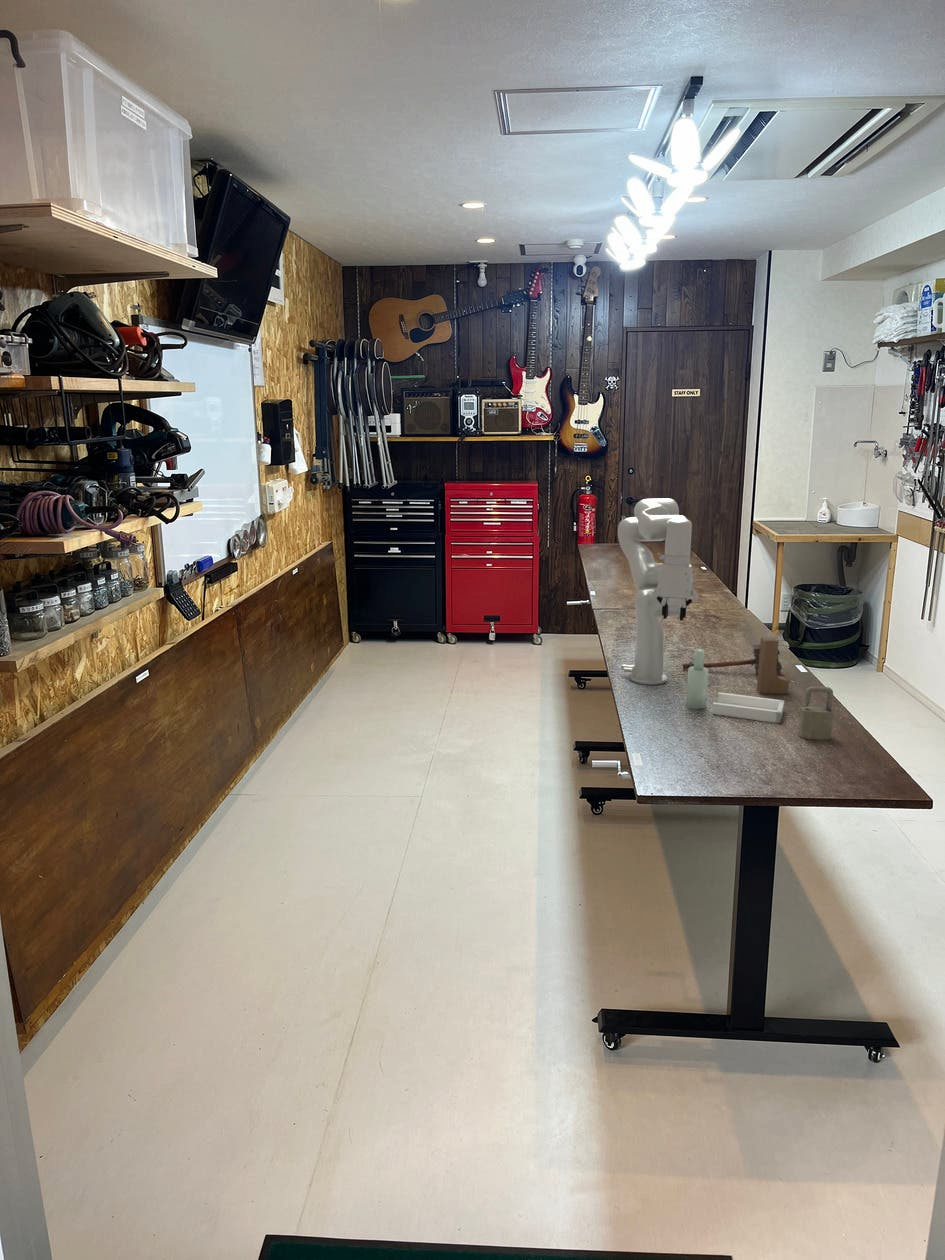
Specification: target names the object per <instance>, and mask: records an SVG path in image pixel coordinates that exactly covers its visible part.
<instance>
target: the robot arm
mask: <svg viewBox="0 0 945 1260" xmlns="http://www.w3.org/2000/svg"><path fill="white" fill-rule="evenodd" d="M679 508H680V507H679V506H678V503H677V501H676V500H674V499H672V498H644V499H641V500H639V501H637V502H636V504H635V506H634V508H633V513H634V516H632V517H626V518H624V519H622V520H621V521H620V522H619V523H618V526H617V537H618V542H619V546H620V548H621V550H622V552H623V554H624V555H625V557H626V559H627V562H628V563H629V568H630V572H631V573H630V574H631V576H632V581H633V585H634V586H635V588H636V589H637V590H638V591H637V592H636V593H635V596H634V608H635V618H636V620H635V647H634V664H631V665H629V664H621V670H622V671H623V672H625V673H629V677H628V678H629V680H630V681H631V682H632V683H636V684H640V685H646V686H647V685H649V686H650V685H651V686H652V685H654V686H655V685H656V686H657V685H662V684H664V683H666V682H667V681H668V677H667V675H666V674H664V659H665V657H664V656H665V637H666V630H665V627H664V625H663V623H662V622H661V621H660V620H659V618H661V617H662V619H663V620H666V619H668V617H679V620H680V621H682V622H683V620H684V618H686V616H687V612H688V610H689V605H690V604H692V603H694V602H695V601H697V600H698V599H699V598H700V596H699V595H698V593H697V591H696V590H695V589H694V579H693V578H694V574H693V566H692V564H691V563H690V560H691V546H692V533H693V532H692V531H693V529H692V528H693V524H692V523H693V522H692V521H691V520H689V519H688V518H687V517H686V516H685V515H682V514H681V515H680V509H679ZM662 541H665V543H664V554H661V555H659V560H660V561H663V562H659V563H658V562H655V558H654V554H653V552H652V551H651V550H650V549H649V548H648V547H647V546H646V545H645V544H643V543H641V542H662Z"/></svg>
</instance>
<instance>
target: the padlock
mask: <svg viewBox="0 0 945 1260" xmlns="http://www.w3.org/2000/svg"><path fill="white" fill-rule="evenodd" d="M812 692H815V693H816V692H817V693H818V692H819V693H827V697H826V705H825V707H820V706H809V704H810V702H811V696H812ZM804 695H805V696H804V703H805V707H801V711H800V720H799V729H798V730H799V731H798V735H799V737H800V738H802V739H807V740H830V739H832V730H833V721H834V710H833V708H832V707H833V699H834V691H833V689H832V688H831V687H828V686H815V685H814V686H810V687H808V688H806V690H805V694H804Z"/></svg>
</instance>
